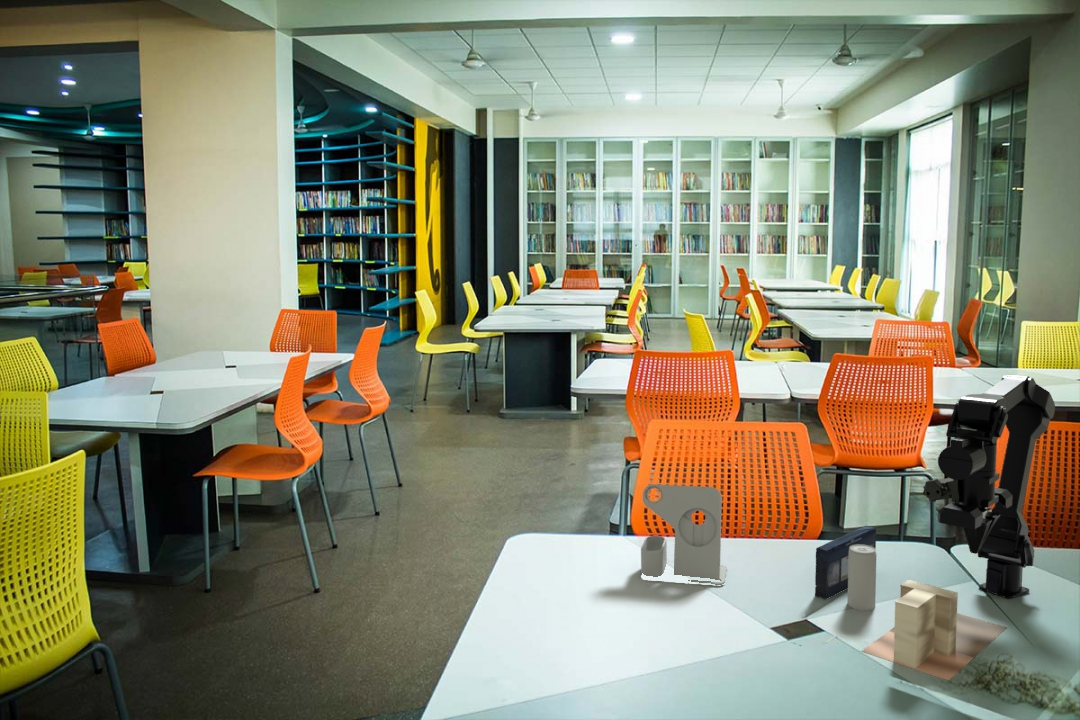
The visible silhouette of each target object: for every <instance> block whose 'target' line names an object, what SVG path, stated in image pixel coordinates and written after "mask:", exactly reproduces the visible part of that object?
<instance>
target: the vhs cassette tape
mask: <svg viewBox="0 0 1080 720" xmlns="http://www.w3.org/2000/svg"><path fill="white" fill-rule="evenodd" d="M876 539H877V528H876V527H874V526H870V525H863V526H862V527H859V528H857V529H855V530H852V531H851V532H848V533H846V534H844V535H843V536H839V537H837V538H835V539H833V540H830V541H829V542H827V543H824V544H823V545H821V546H819V547H816V549H815V573H814V575H815V577H814V578H815V579H814V581H815V583H814V584H815V587H814V589H815V591H814V596H815V597H816V598H820V597H821V599H823V600H828V599H830V598H832V597H834V596H836V595H838V594H840V593H842V592H844V591H846V590H848V558H849V547H850V546H852V545H856V544H863V545H869V546H872V547H874V548H875V549H876V547H877V540H876ZM845 589H846V590H845ZM843 590H844V591H843ZM841 591H842V592H841ZM839 592H840V593H839ZM837 593H838V594H837ZM835 594H836V595H835ZM831 596H832V597H831ZM829 597H830V598H829ZM827 598H828V599H827Z"/></svg>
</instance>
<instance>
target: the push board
mask: <svg viewBox="0 0 1080 720" xmlns="http://www.w3.org/2000/svg"><path fill="white" fill-rule="evenodd" d="M894 629H895V626H894V627H893V628H891V629H889V630H888V631H887V632H886V633H884V634H883V635H881V636H880V637H878V638H877V639H876V640H875V641H873V642H872V643H869V645H867V646H866V647H865V648H864V649H862V650H861V652H862V653H865V654H867V655H871V656H874V657H877V658H880V659H883V660H886V661H889V662H892V663H895V664H898V665H901V666H904V667H906V668H910V669H913V670H915V671H919V672H922V673H925V674H928V675H930V676H934V677H935V678H936V677H937V678H940V679H942V680H946V681H950V680H952V678H954V677H955V675H957V674H959V672H960V671H962V670H963V669H964V667H966V666H967V665H968V664H969V663H970V662H972V660H973V659H974V658H976V657H977V656H978V655H979V654H980V653H982V651H983V650H984V649H986V648H987V647H988V646H989V645H990V644H991V643H992V642H994V641H995V640H996V639H997V638H998V637H999V636H1000V635H1001V634H1002V633H1003V632H1004V631H1006V630H1007V629H1008V626H1004V625H1001V624H997V623H994V622H990V621H986V620H983V619H980V618H977V617H972V616H970V615H969V616H968V615H965V614H962V613H958V612H957V627H956V651H955V652H954V653H953V654H951V655H950V656H949V657H945V656H942V655H939V654H936V653H933V654H932V655H931V656H930V657H928V658H927V659H926V660H925V661H924V662H922V663H921V664H920V665H919V666H917V667H916V668H913V667H910V666H907V665H904V664H901V663H898V662H895V661H894Z"/></svg>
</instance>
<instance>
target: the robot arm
mask: <svg viewBox="0 0 1080 720" xmlns="http://www.w3.org/2000/svg"><path fill="white" fill-rule="evenodd" d="M1055 404H1056V403H1055V401H1054V399H1053V397H1052V394H1051V392H1050V391H1048V390H1047V389H1045V388H1043V387H1042V386H1040V385H1039V384H1037V382H1036V381H1035V379H1034V378H1033V377H1030V376H1029V375H1019V374H1016V375H1015V374H1007V375H1003V376H1002V378H1001V380H1000V381H999V382H997V383H996V384H994V385H993V386H991V387H990V388H989V389H987V390H986V391H985V392H983V393H977V394H976V393H972V394H967V395H963V396H961V397H960V398H959V399H958V401H956V403H955V404H954V408H953V411H952V414H951V417H950V420H949V423H948V427H947V430H946V435H945V436H946V437H947V438H948V437H949V438H951V439H950V446H947V447H946V448H944V449H942V450H941V451H940V453H939V456H938V457H937V464H938V465H937V466H938V468H939V470H940V472H941V473H942V474H943V475H944V476H946V478H941V479H938V478H935V479H932V480H931V479H928V480H926V481H925V484H924V485H923V486H922V487H923V491H922V495H923V496H924V497H926V498H927V499H928V501H929V503H935V502H936V501H941V500H947V499H948V500H949V499H951V502H950V503H949V504H947V505H945V506H943V507H942V508H940V509H939V510H938V511H937V522H938V523H940V524H942V525H943V524H944V525H948V526H953V527H959V528H962V529H963V533H964V535H965V539H966V541H967V542H966V543H967V545H968V549H969V552H970V553H971V554H974V555H975V554H977V557H978V558H982V559H986V562H987V563H986V569H985V570H986V572H985V582H983V583H981V584H978V588H979V589H982V590H984V591H988V592H990V593H992V594H995V595H998V596H1000V597H1004V598H1006V599H1013V598H1015V597H1019V596H1021V595H1023V594H1027V593H1030V588H1028V587H1025V586H1023V585H1022V584H1023V569H1025V568H1026V567H1033V566H1034V561H1035V560H1034V558H1035V549H1034V547H1033V544H1032V542H1031V539H1030V537H1029V536H1028V535H1029V527H1028V524H1027V523H1026V521H1025V518H1024V515H1023V509H1024V503H1025V498H1026V493H1027V487H1028V483H1029V479H1030V478H1029V477H1030V473H1031V468H1032V463H1033V457H1034V452H1035V447H1036V443H1037V440H1038V439H1039V438H1040V437H1041V436H1042V435H1043V434H1044V433H1046V432H1047V431H1048V429H1049V426H1050V422H1051V419H1053V418H1054V415H1055V412H1056V411H1055V410H1056V405H1055ZM1005 427H1006V429H1007V431H1008V433H1009V434H1008V438H1007V439H1008V440H1007V443H1006V449H1005V454H1004V459H1003V464H1002V469H1001V474H1000V473H999V472H997V453H998V452H997V449H998V442H997V441H998V439H1000V438H1001V437H1002V435H1003V433H1004V430H1005ZM998 480H999V484H998V487H996V481H998ZM992 506H993V508H991V507H992Z"/></svg>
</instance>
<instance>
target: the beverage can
mask: <svg viewBox="0 0 1080 720" xmlns="http://www.w3.org/2000/svg"><path fill="white" fill-rule="evenodd" d="M876 586H877V551H876V549H875V548H874V547H872V546H869V545H863V544H856V545H852V546H850V547H849V558H848V589H847V606H849V607H850V608H852V609H855V610H858V611H872V610H874V609H875V608H876V596H877V595H876V593H877V592H876V588H877V587H876Z"/></svg>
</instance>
